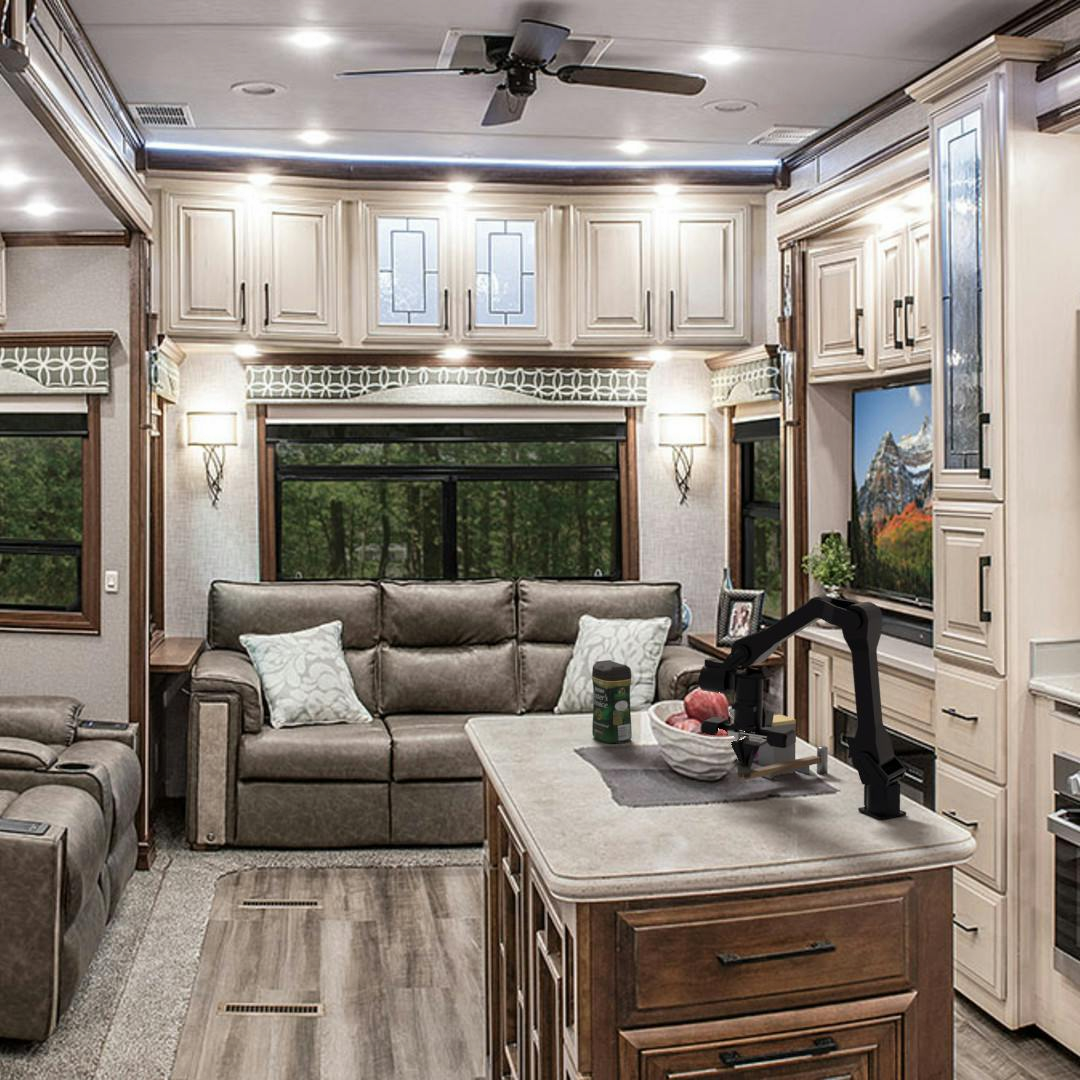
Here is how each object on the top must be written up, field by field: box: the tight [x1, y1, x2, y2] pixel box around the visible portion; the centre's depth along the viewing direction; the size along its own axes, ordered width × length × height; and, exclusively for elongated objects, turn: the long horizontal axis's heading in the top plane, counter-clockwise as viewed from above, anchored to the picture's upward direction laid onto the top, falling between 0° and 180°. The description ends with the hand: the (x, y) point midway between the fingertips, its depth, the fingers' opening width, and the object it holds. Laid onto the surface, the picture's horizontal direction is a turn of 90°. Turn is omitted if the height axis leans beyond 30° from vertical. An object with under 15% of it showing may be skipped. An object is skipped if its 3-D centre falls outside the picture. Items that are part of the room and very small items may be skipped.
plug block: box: [758, 714, 797, 776], centre depth 263 cm, size 6×6×11 cm
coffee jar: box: [591, 659, 633, 744], centre depth 291 cm, size 10×8×19 cm
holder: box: [751, 758, 810, 780], centre depth 264 cm, size 10×10×2 cm
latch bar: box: [736, 755, 820, 782], centre depth 254 cm, size 3×22×2 cm, turn 124°
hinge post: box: [816, 745, 829, 775], centre depth 261 cm, size 2×2×6 cm
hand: (746, 773), depth 251 cm, fingers closed
